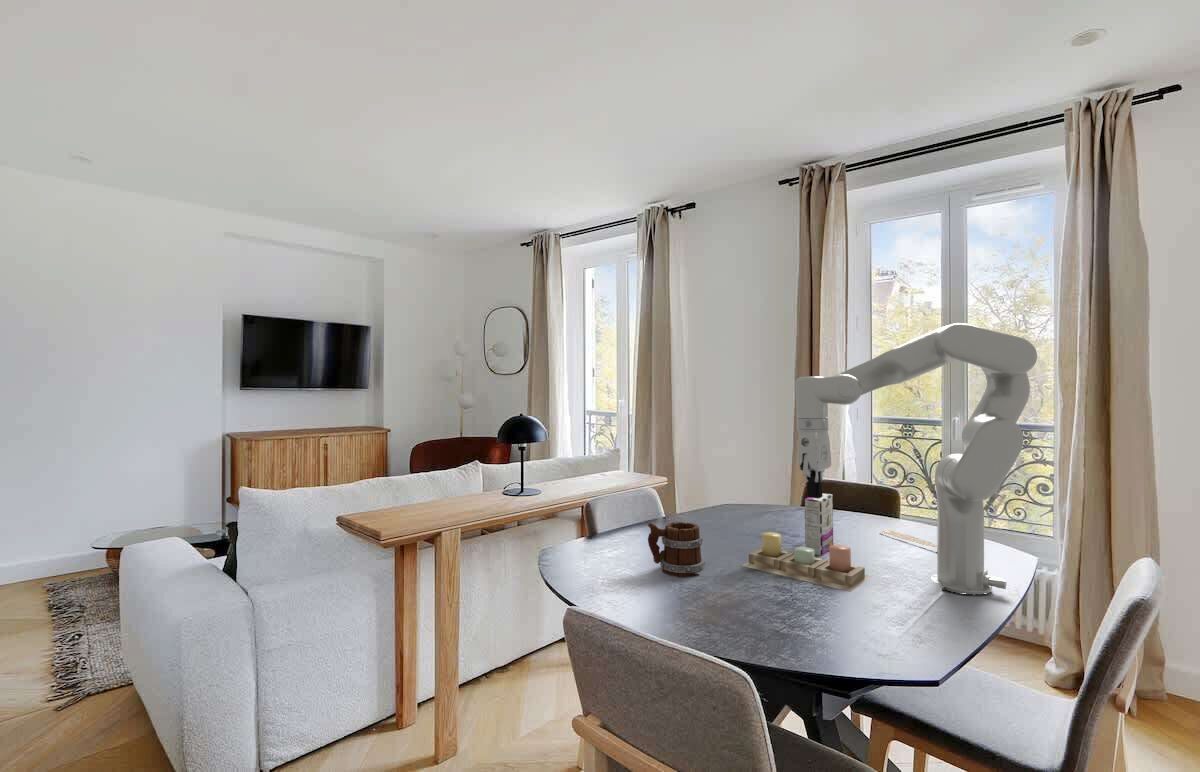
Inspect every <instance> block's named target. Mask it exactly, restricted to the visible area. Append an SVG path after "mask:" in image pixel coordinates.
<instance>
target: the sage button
mask: <svg viewBox="0 0 1200 772" xmlns="http://www.w3.org/2000/svg"><path fill="white" fill-rule="evenodd" d="M793 550H794V551H793V553H794V562H797V563H802V564H806V565H812V564H814V557H815V554H814V549H811V548H807V547H805V546H797V547H795V548H794V549H793Z"/></svg>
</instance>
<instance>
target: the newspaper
mask: <svg viewBox="0 0 1200 772" xmlns="http://www.w3.org/2000/svg"><path fill="white" fill-rule="evenodd" d="M880 532H881V533H884V534H888V535H892V536H894V537H898V538H901V539H905V540H909V541H912V542H916V543H919V544H922V545H926V546H932V547H937V545H935V544H936V543H934V544H932V543H933V542H930V541H927V540H924V539H921V538H918V537H915V536H912V535H908V534H905V533H902V532H899V531H896V530H893V529H885V530H882V531H880Z"/></svg>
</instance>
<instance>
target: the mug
mask: <svg viewBox="0 0 1200 772" xmlns="http://www.w3.org/2000/svg"><path fill="white" fill-rule="evenodd" d="M647 527H648V528H649V529H650V533H648V536H647V542H648V547H649V550H650V552H651V554H652V556H653V562H654V563H655V564H659V565H660V567H661V571H662V572H663V573H664V574H666V575H668V576H671V577H675V576H676V577H679V578H693V577H697V576H700V575H701V574H700V573H697V572H700V571H703V570H704V568H705V565H706V561H705V560H704V558H702V550H701V546H702V545H703V541H704V539H703V537H702V536H701V535H700V526H699V524H696V523H692V522H687V521H686V522H684V521H676V522H671V523H666V524H665V528H660V527H658V526H657V525H656V524H655V523H652V522H648V523H647ZM660 537H661V542H662V545H664V546H663V550H661V551H660V548H661V547H660V546H659V544H658V542H659V539H660Z"/></svg>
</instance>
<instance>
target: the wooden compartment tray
mask: <svg viewBox="0 0 1200 772" xmlns="http://www.w3.org/2000/svg"><path fill="white" fill-rule="evenodd" d="M741 567H745V568H749V569H754V570H759V571H762V572H766V573H770V574H773V575H779V576H783V577H787V578H792V579H796V580H800V581H805V582H808V583H812V584H817V585H821V586H826V587H829V588H834V589H838V590H843V591H846V592H851V591H853V590H854V589H856V588H857V587H859V586H861V584H863V583H864V582H866V581H867V580H869V579H870V578H871V577H872V575H867V574H865V573H866V571H865V570H866V569H865V568H866V567H865V566H864V567H863V566H858V565H855V564H854V565H853V564H851V570H850V571H837V570H833V569H831V568H830V567H829V559H824V558H820V557H816V556H814V564H812V565H806V564H802V563H797V562H794V552H790V551H786V550H785V551H784V550H781V555H780V556H767V555H764V554H762V547H761V548H759V549H756V550H754V551H752V552H750V553H748V562H745V563H744V564H741Z"/></svg>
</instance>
